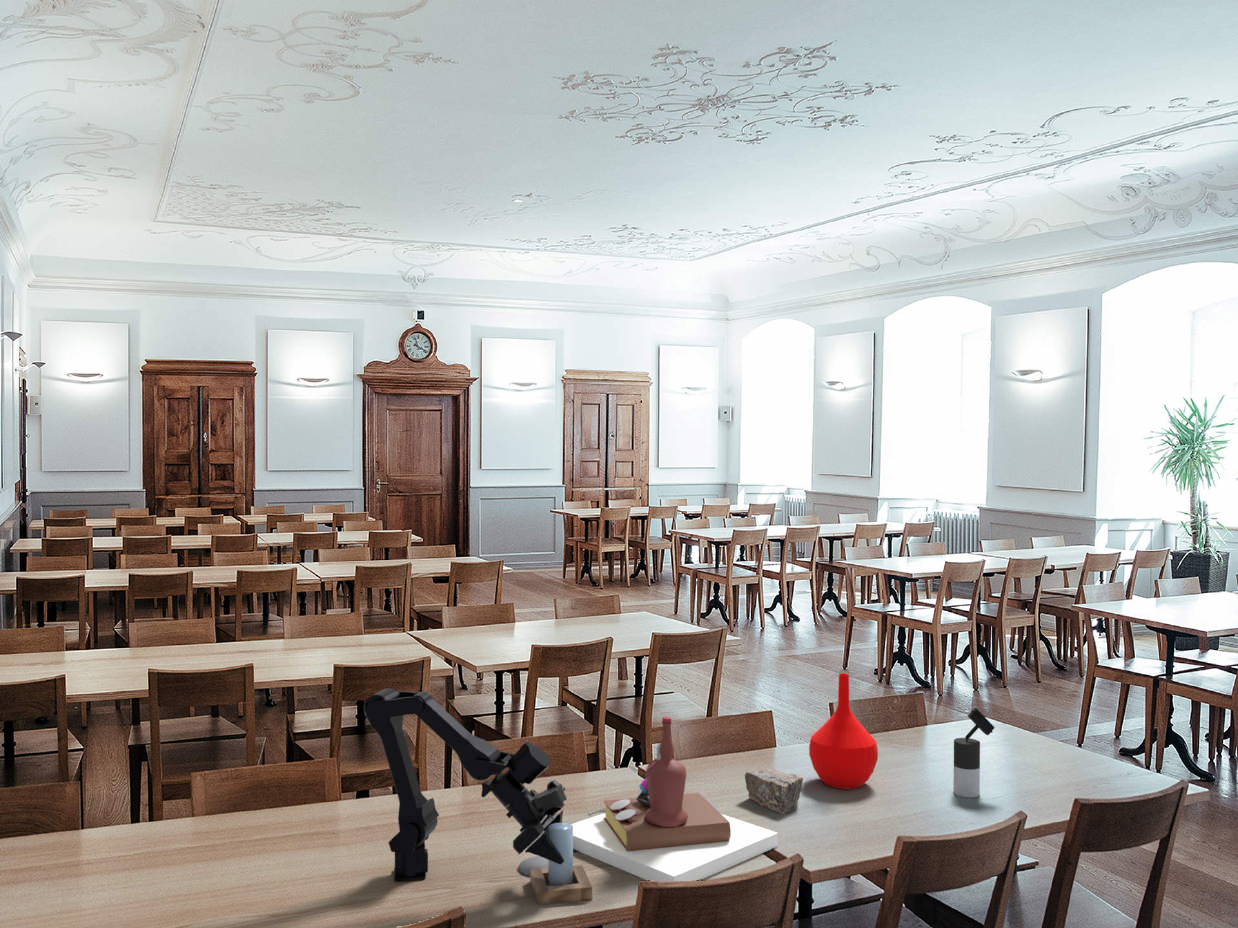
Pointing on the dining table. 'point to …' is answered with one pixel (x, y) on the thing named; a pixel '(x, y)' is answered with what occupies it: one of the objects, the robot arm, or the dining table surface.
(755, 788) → the stone block
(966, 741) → the track light
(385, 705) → the robot arm
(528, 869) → the coaster
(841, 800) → the dining table surface
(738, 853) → the decorative still life
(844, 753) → the vase
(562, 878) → the pale blue cylinder
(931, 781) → the dining table surface
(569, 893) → the pocket block
